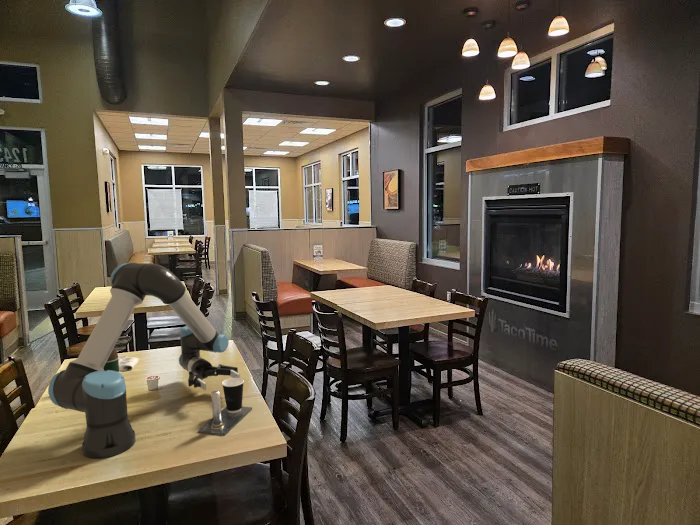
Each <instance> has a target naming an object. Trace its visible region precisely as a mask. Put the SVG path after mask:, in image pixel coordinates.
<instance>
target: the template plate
mask: <svg viewBox="0 0 700 525" xmlns="http://www.w3.org/2000/svg"><path fill="white" fill-rule="evenodd" d="M251 411H253V407H251V406H243V405H242V408H241V411H240V412H238V413H229V412H228V410H227V407H226V406H225V407H224V408H223V409H221V419H222V421H223V426H222V427H220V428H213V427H212V423H213V417H212V418H210V419H209V420H208V421H207V422H206V423H204V424H203V425H202V426H201V427H200V428H199V429H198V430H197V432H198V433H199V434H201V433H202V434H210V435H216V436H217V435H218V436H219V435H220V436H227V435H228V433H230V431H231V430H233V429H234V428H235V427H236V426H237V425H238V424H239V423H240V422H241V421H242V420H243V419H244V418H245V417H246V416H247V415H248V414H249V413H251Z"/></svg>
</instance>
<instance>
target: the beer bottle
mask: <svg viewBox="0 0 700 525" xmlns="http://www.w3.org/2000/svg"><path fill="white" fill-rule="evenodd" d="M118 356H119V355H118V352H117V350H116V349H115V347H114V348H113V350H112V352H111V354H110V356H109V358H108V360H107V362H106V364H105V365H104V367H103V369H104V371H107V370H112V371H116V372H119V362H118ZM119 373H120V372H119Z"/></svg>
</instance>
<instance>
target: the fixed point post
mask: <svg viewBox="0 0 700 525" xmlns="http://www.w3.org/2000/svg"><path fill="white" fill-rule="evenodd" d="M210 394H211V409H212V410H211V411H212V418H213V423H212V427H213V428H220V427H222V426H223V421H222V419H221V410H222V405H221V404H222V402H221V390H213V391H211V393H210Z"/></svg>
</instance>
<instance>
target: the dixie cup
mask: <svg viewBox="0 0 700 525" xmlns="http://www.w3.org/2000/svg"><path fill="white" fill-rule="evenodd" d="M244 383H245V380H244V379H243V378H241V377H240V378H232V377H231V378H226V379H224V380H222V382H221V386H222V389H223V390H222V391H223V394H224V400H225V405H226V406H225V407H227V410H228V412H229V413H238V412H240V411H241V408H242V406H243V391H244V390H243V389H244Z"/></svg>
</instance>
